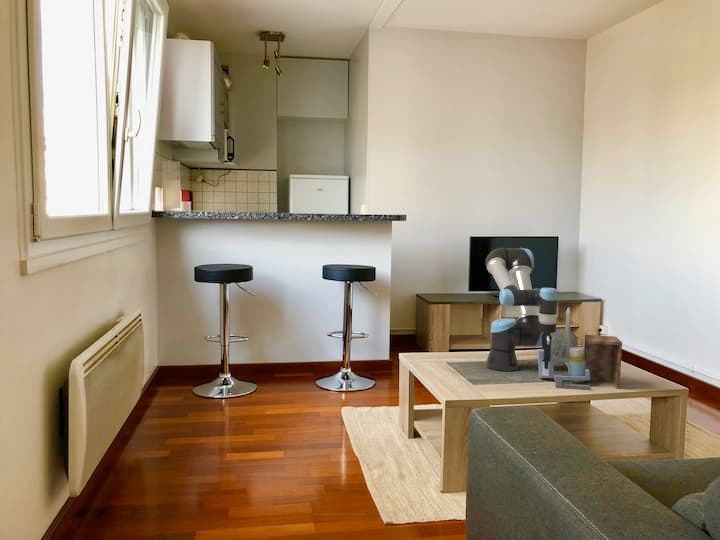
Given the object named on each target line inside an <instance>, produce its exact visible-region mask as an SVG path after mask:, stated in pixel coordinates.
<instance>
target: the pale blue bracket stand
mask: <svg viewBox="0 0 720 540" xmlns="http://www.w3.org/2000/svg"><path fill="white" fill-rule="evenodd" d="M537 358H538V359H537V361H538V362H537V363H538V377H539V378H543V379H545V378H547V379H549V378H551V379H552V378H553V379H554V381H556V375H558V374H557V372H556V371H554V369H553V360H554V354H553V351H552V349H551V352H550V361H549V376H542V372H543V361H542V360H544V349H542V348H541V349H540V348H537ZM570 380H586V381H591V380H590V371H589V369H588V368H587V366H586V369H585V376H569V375H568V376H567V375H562V381H570Z"/></svg>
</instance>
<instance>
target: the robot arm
mask: <svg viewBox="0 0 720 540" xmlns="http://www.w3.org/2000/svg"><path fill="white" fill-rule="evenodd" d="M485 267H486V270H487V271H488V273H489V274H492V277H493V278H494V281H495V283H496V285H497V286H498V288H499V291H500V292H499V297H498V298H499V303H500V305H501V306H507V307H517V312H518V318H517V320H516V319H515V318H500V319H494V320H493V321H492V323H491V327H490V346H489V347H490V350H489V353H488V355H487V359H486V361H485V362H486V363H485V366H487V367H488V369H489V368H491V369H490V370H492V369H494V370H493V371H497V370H499V371H500V372H515V371H517V370H519V362H518V359H517V354H516V347H535V348H536V347H541V349H544V360H542V361H543V372H542V376H549V361H550V352H551V342H552V341H551V340H552V336H551V335H550V333H554V332H556V329H557V318H559V316H558V315H557V314H558V313H557V312H558V298H559V296H558V294H559V293H558V290H557V288H553V287H541V288H533V287H532V286H533V285H532V282H531V276H530V274H531V273H532V271H533V270H534V267H535V259H534V254H533V252H532V251H531V250H530V249H528V248H523V247H519V248H517V247H516V248H515V247H514V248H513V247H508V248H507V247H499V248H495V249H493V250H492V251H491V252H489V254H488V255H487V256H486V259H485ZM536 307H538V308H539V310H538V312H537V308H536ZM487 367H486V368H487ZM499 371H498V372H499Z"/></svg>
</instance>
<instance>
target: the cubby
mask: <svg viewBox="0 0 720 540" xmlns="http://www.w3.org/2000/svg"><path fill="white" fill-rule="evenodd" d="M583 346H584V347H583V348H584V352H585V353H584V354H585V355H584V356H585V358H586V366H587V368H588V369H589V371H590V380H589V381H601V382H611V383H612V385H613V386H614V388H615V387H616V388H615V389H616V390H620V388H621V387H620V386H621V382H620V381H621V372H622V371H621V368H622V352H623V351H622V350H623V342H622V341H621V340H620V339H619V337H617V336H616V335H615V336H613V335H597V334H584V345H583Z"/></svg>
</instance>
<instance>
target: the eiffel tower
mask: <svg viewBox="0 0 720 540" xmlns="http://www.w3.org/2000/svg"><path fill="white" fill-rule="evenodd" d="M571 315H572V311H571V309H570V307H567V309H566V311H565V317H566V318H565V327H564V328H565V332H564V338H563V343H562V344H561V345H562V346H561V349H560V351H559V353H558V355H557V356H556V355H555V356H554V358H553V370H555V366H561V367H562V366H564V364H565V365H566V366H567V369H568V372H567V374H569V356H570V347H572V345H573V344H571V333H570V331H571Z"/></svg>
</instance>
